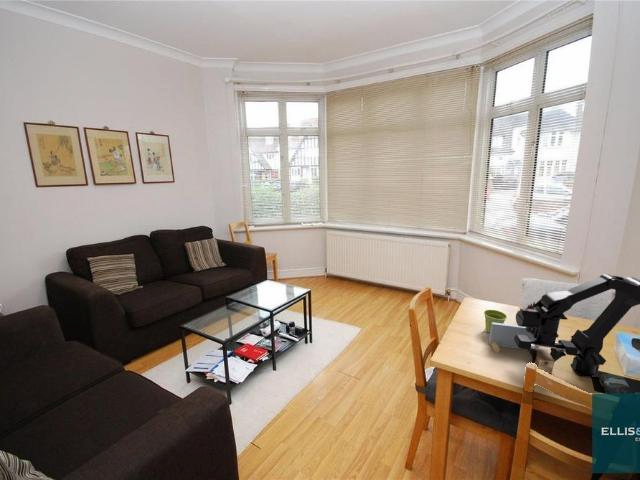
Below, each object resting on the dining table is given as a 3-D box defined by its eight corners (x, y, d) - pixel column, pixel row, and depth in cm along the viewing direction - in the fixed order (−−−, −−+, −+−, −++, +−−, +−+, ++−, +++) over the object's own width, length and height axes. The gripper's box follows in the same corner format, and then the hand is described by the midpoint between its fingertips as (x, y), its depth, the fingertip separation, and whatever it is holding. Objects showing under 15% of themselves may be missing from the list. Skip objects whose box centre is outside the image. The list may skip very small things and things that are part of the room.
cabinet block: (543, 362, 120) (546, 349, 118) (551, 375, 113) (555, 361, 111) (529, 360, 121) (531, 347, 119) (536, 372, 114) (539, 359, 113)
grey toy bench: (536, 349, 128) (540, 328, 126) (542, 358, 122) (546, 336, 120) (488, 342, 133) (491, 322, 130) (492, 351, 127) (495, 330, 124)
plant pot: (477, 328, 144) (479, 312, 142) (489, 323, 148) (492, 307, 146) (495, 338, 136) (498, 321, 134) (508, 333, 140) (511, 316, 138)
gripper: (567, 320, 118) (559, 355, 122) (512, 314, 123) (507, 347, 127) (582, 335, 107) (573, 373, 111) (522, 328, 112) (515, 364, 116)
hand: (540, 363), depth 117 cm, fingers closed on cabinet block, 5 cm apart
